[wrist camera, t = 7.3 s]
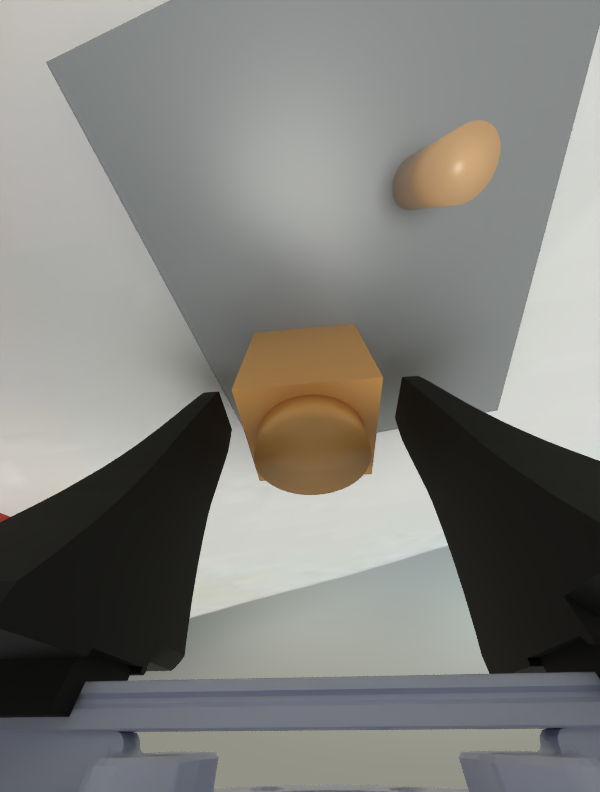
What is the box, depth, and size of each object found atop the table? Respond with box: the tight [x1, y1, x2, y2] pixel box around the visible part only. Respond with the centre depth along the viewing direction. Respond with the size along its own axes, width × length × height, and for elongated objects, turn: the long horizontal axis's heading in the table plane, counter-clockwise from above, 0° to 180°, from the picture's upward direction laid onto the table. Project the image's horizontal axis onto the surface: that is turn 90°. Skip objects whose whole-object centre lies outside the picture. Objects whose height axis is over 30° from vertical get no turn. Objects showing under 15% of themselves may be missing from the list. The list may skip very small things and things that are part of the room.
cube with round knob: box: [232, 324, 383, 495], centre depth 10 cm, size 4×4×6 cm
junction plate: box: [46, 0, 600, 432], centre depth 9 cm, size 14×16×4 cm
